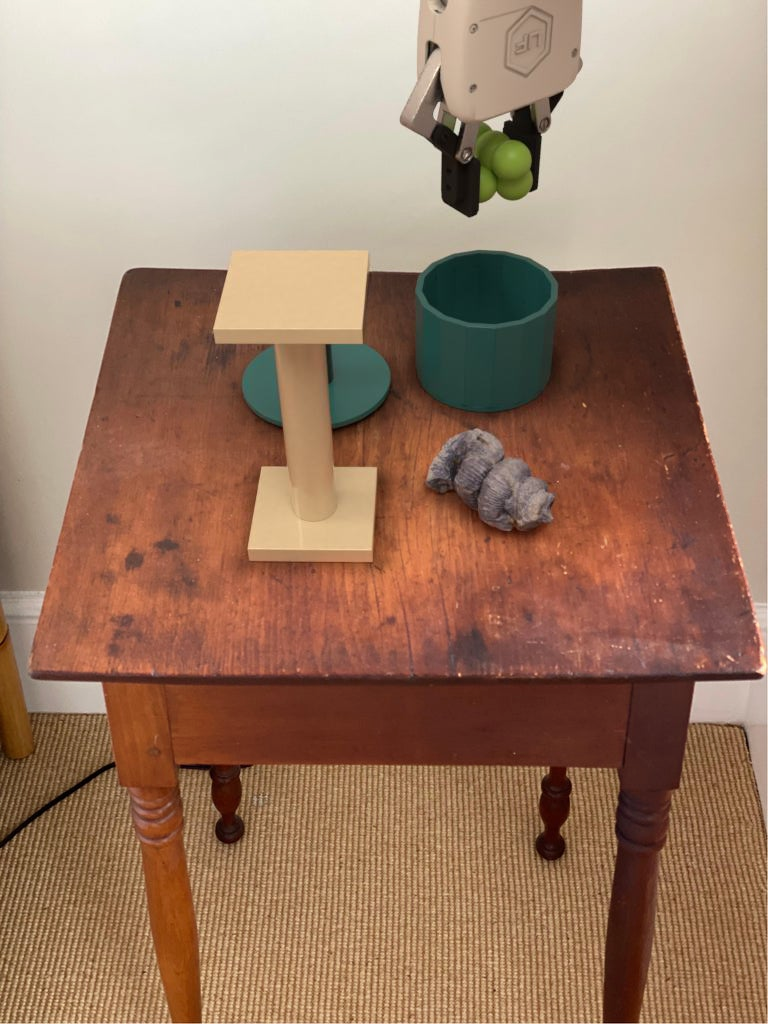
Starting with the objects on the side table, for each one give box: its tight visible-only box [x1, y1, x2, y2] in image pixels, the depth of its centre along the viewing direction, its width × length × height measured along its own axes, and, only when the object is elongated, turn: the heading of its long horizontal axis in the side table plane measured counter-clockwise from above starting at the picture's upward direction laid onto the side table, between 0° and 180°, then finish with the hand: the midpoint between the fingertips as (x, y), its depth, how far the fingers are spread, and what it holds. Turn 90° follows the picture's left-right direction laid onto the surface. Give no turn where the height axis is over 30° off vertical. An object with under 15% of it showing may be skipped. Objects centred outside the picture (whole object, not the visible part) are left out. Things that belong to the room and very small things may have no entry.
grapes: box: [457, 121, 533, 204], centre depth 75 cm, size 6×5×4 cm
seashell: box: [424, 427, 556, 532], centre depth 74 cm, size 5×5×10 cm
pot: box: [414, 249, 559, 413], centre depth 84 cm, size 10×10×8 cm
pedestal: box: [212, 249, 379, 563], centre depth 69 cm, size 8×8×18 cm
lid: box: [241, 343, 392, 430], centre depth 84 cm, size 11×11×7 cm
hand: (489, 193), depth 77 cm, fingers closed on grapes, 4 cm apart
